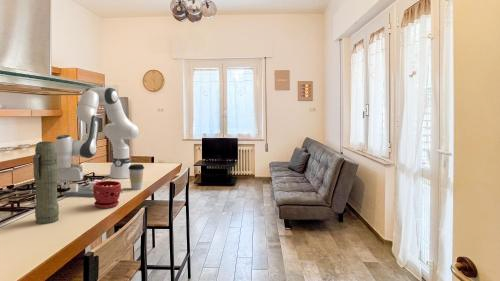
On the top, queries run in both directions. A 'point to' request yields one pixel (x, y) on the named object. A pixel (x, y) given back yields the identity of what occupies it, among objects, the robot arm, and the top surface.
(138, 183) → the coffee cup
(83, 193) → the breaker panel
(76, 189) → the lever
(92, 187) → the middle lever
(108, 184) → the plant pot
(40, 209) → the thermos
